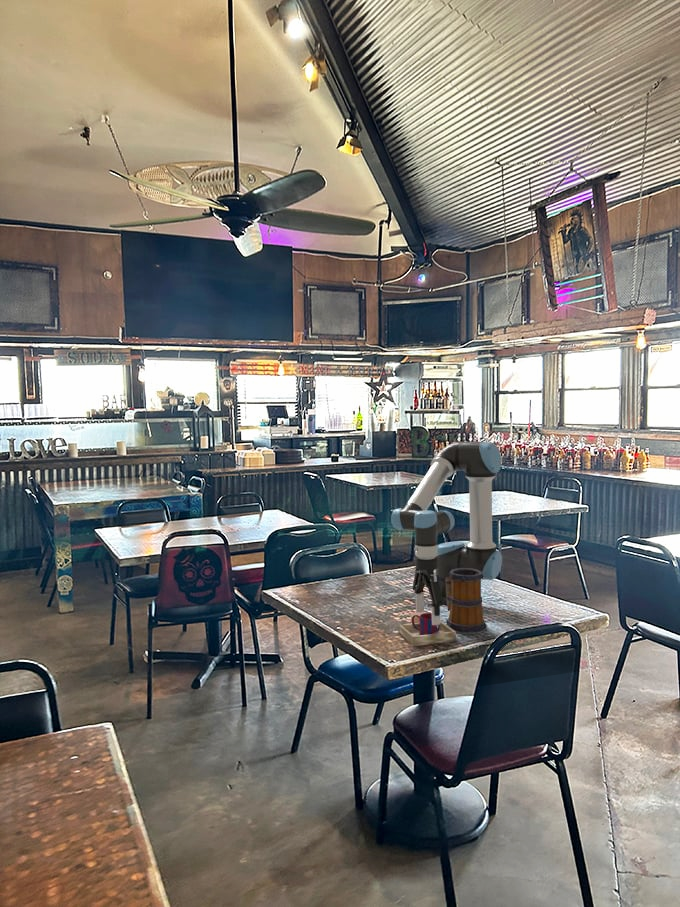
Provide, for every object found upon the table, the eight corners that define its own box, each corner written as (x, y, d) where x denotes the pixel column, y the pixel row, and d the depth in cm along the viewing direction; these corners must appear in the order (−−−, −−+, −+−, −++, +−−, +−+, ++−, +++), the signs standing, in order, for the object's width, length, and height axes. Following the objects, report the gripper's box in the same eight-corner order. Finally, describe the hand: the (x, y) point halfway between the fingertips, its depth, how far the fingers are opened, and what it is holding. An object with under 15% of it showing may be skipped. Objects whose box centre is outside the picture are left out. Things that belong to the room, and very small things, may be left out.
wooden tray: (439, 628, 225) (439, 620, 224) (456, 640, 213) (456, 631, 212) (398, 633, 220) (398, 625, 220) (413, 646, 208) (412, 637, 208)
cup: (432, 640, 211) (432, 620, 211) (407, 634, 218) (407, 614, 217) (443, 635, 216) (443, 615, 216) (419, 628, 223) (419, 609, 222)
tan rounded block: (424, 620, 234) (424, 611, 233) (431, 626, 228) (431, 616, 227) (408, 622, 232) (407, 613, 232) (414, 628, 226) (414, 618, 226)
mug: (430, 620, 234) (430, 566, 233) (463, 614, 240) (463, 562, 238) (460, 636, 216) (460, 578, 215) (495, 630, 222) (495, 574, 221)
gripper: (402, 549, 225) (403, 608, 227) (431, 566, 202) (433, 631, 204) (421, 547, 227) (423, 605, 229) (453, 564, 204) (454, 628, 206)
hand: (427, 618), depth 216 cm, fingers open, 12 cm apart
